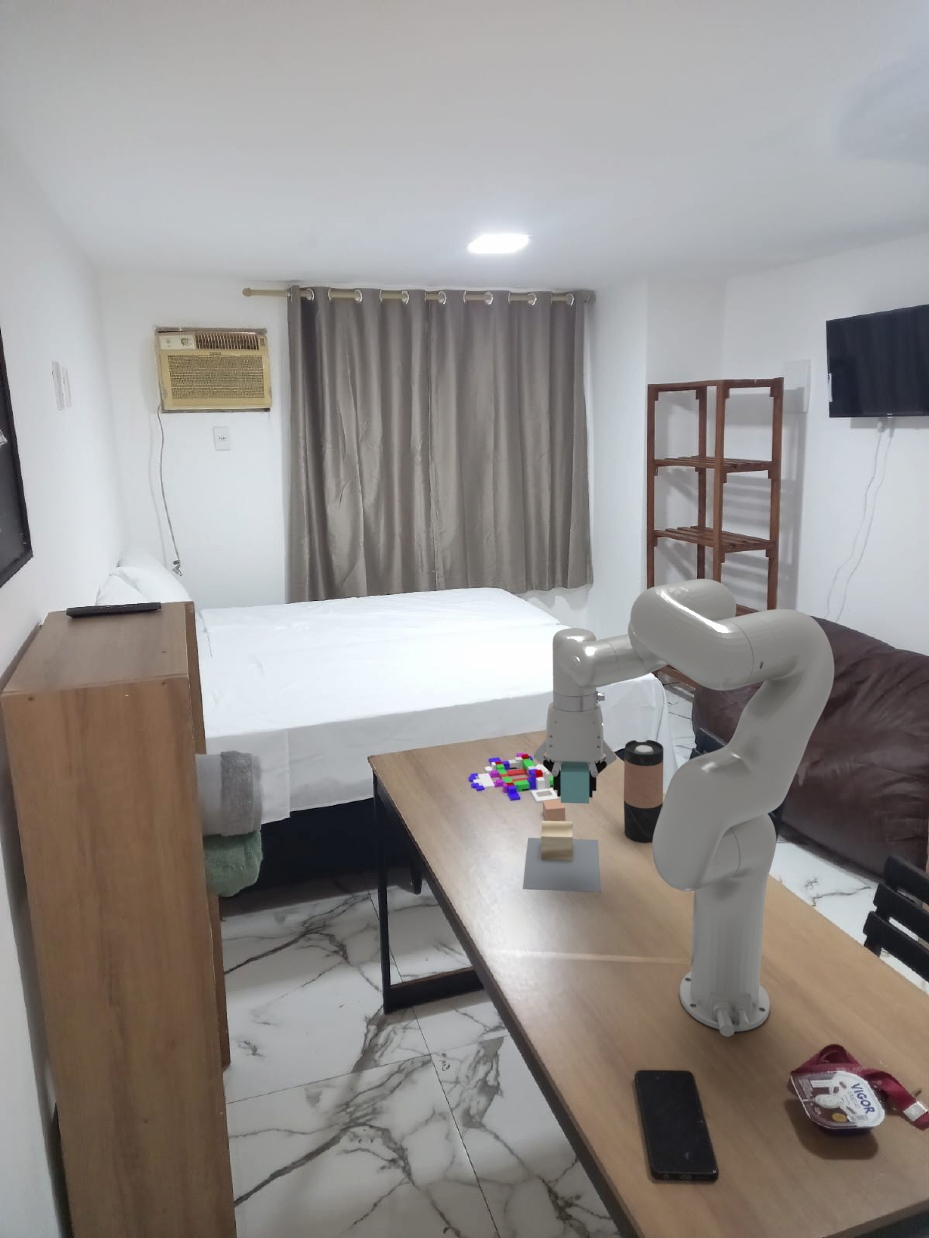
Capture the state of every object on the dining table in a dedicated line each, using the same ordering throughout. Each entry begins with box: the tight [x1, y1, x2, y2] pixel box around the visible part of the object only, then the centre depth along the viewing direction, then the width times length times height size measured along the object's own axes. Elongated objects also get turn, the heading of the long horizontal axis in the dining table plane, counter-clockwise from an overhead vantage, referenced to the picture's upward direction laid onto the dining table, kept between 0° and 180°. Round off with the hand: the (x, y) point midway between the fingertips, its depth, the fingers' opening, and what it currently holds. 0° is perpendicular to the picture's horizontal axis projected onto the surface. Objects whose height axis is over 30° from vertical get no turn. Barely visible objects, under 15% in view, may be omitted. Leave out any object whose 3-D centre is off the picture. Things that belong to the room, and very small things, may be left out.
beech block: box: [540, 820, 574, 861], centre depth 158 cm, size 6×6×5 cm
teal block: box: [560, 762, 590, 804], centre depth 145 cm, size 5×5×6 cm
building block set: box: [467, 752, 560, 804], centre depth 191 cm, size 25×20×4 cm
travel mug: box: [623, 739, 664, 844], centre depth 161 cm, size 8×8×20 cm
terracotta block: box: [542, 798, 566, 821], centre depth 172 cm, size 4×4×4 cm
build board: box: [522, 837, 602, 893], centre depth 154 cm, size 18×14×1 cm
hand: (574, 792), depth 146 cm, fingers closed on teal block, 5 cm apart
